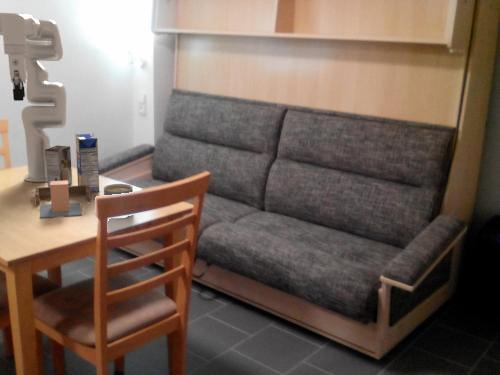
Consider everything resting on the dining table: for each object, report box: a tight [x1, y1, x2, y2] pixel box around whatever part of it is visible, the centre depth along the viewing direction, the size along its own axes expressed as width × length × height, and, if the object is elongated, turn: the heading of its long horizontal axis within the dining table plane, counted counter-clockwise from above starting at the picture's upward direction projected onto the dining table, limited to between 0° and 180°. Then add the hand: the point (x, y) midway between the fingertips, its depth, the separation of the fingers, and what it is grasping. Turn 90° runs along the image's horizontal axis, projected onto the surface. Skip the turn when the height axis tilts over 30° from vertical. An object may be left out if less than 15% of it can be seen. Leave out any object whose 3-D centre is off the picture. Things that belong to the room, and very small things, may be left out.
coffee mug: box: [103, 183, 134, 196], centre depth 191 cm, size 13×10×10 cm
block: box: [50, 180, 70, 212], centre depth 193 cm, size 6×5×10 cm
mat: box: [39, 201, 83, 219], centre depth 194 cm, size 14×14×1 cm
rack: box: [34, 185, 91, 206], centre depth 206 cm, size 10×19×4 cm, turn 109°
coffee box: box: [45, 145, 73, 187], centre depth 223 cm, size 9×6×16 cm
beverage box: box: [75, 133, 100, 194], centre depth 218 cm, size 7×11×22 cm, turn 25°
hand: (19, 98), depth 194 cm, fingers open, 9 cm apart
